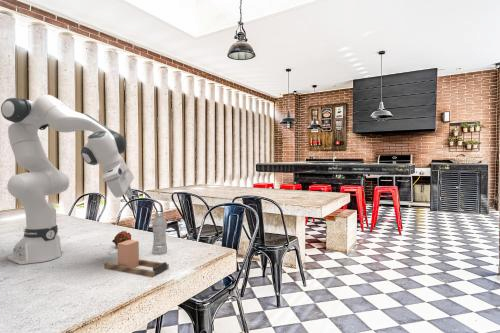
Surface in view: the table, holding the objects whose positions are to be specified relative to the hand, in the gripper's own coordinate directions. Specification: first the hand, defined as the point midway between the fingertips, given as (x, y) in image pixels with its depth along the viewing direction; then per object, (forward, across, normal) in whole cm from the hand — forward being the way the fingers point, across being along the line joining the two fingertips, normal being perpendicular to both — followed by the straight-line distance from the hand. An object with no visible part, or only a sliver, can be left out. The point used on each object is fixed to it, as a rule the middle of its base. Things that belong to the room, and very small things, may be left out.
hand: (130, 196), depth 128 cm
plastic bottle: (+31, +3, 0) cm, 31 cm away
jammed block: (+21, +19, -7) cm, 29 cm away
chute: (+23, +21, -4) cm, 32 cm away
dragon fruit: (+28, -14, -22) cm, 38 cm away
